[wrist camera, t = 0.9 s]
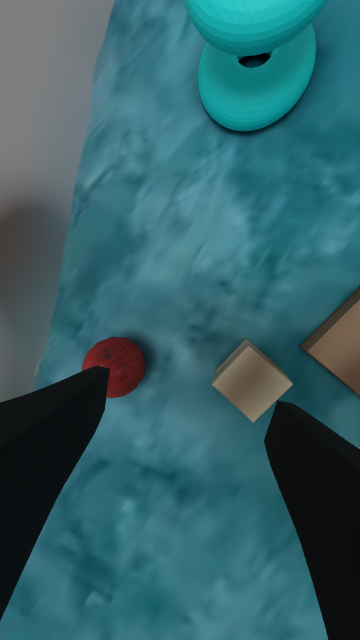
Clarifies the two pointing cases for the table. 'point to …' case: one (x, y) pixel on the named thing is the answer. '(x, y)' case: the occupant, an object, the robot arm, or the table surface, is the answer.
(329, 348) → the walnut block
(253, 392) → the maple block
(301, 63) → the donuts
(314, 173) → the table surface
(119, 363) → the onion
